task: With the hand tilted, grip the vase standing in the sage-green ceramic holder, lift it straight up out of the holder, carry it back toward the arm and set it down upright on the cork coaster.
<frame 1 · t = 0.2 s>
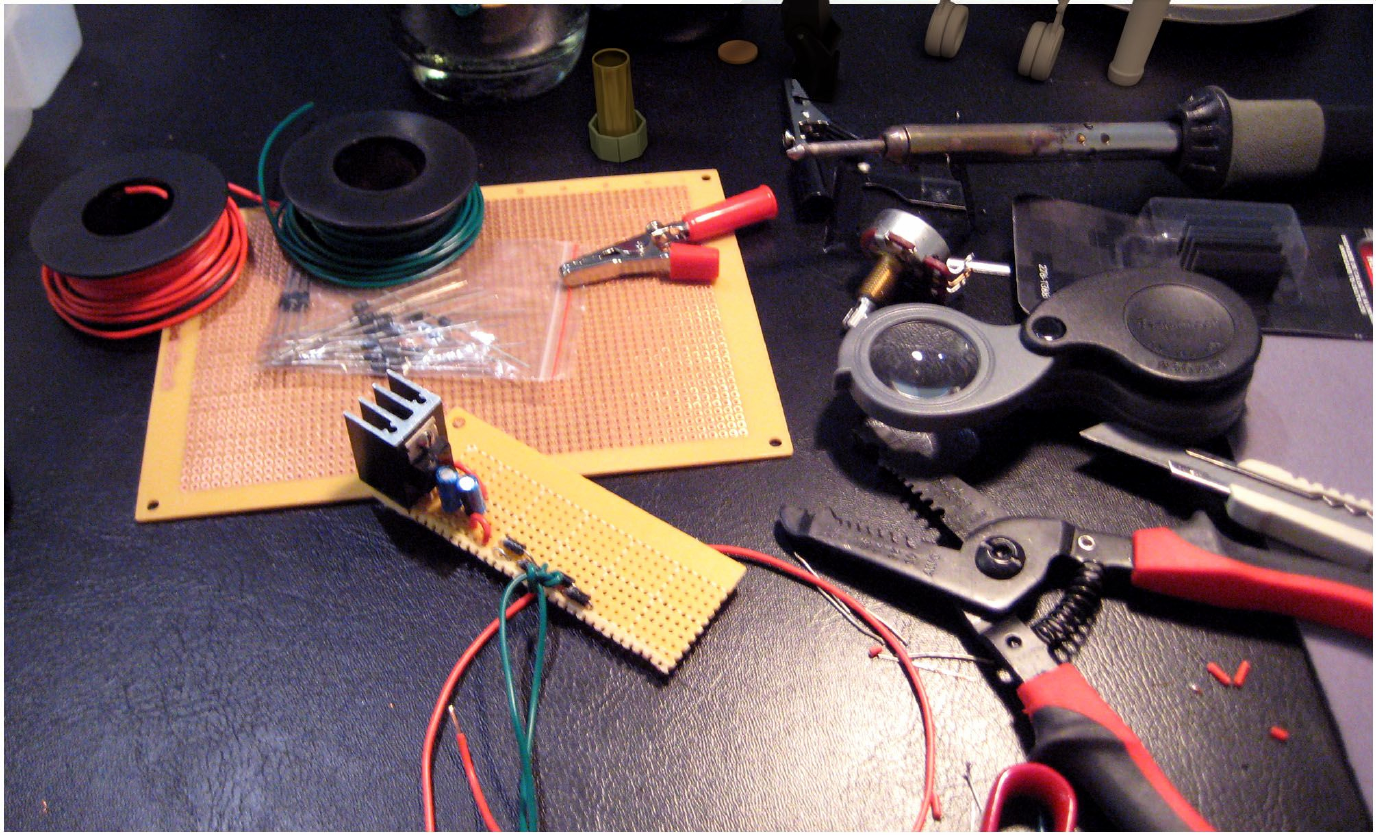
holder: (619, 145, 139), on the table
vase: (619, 147, 139), resting in holder
headphones: (986, 65, 151), on the table
coaster: (737, 53, 155), on the table
bottle: (1122, 79, 147), on the table
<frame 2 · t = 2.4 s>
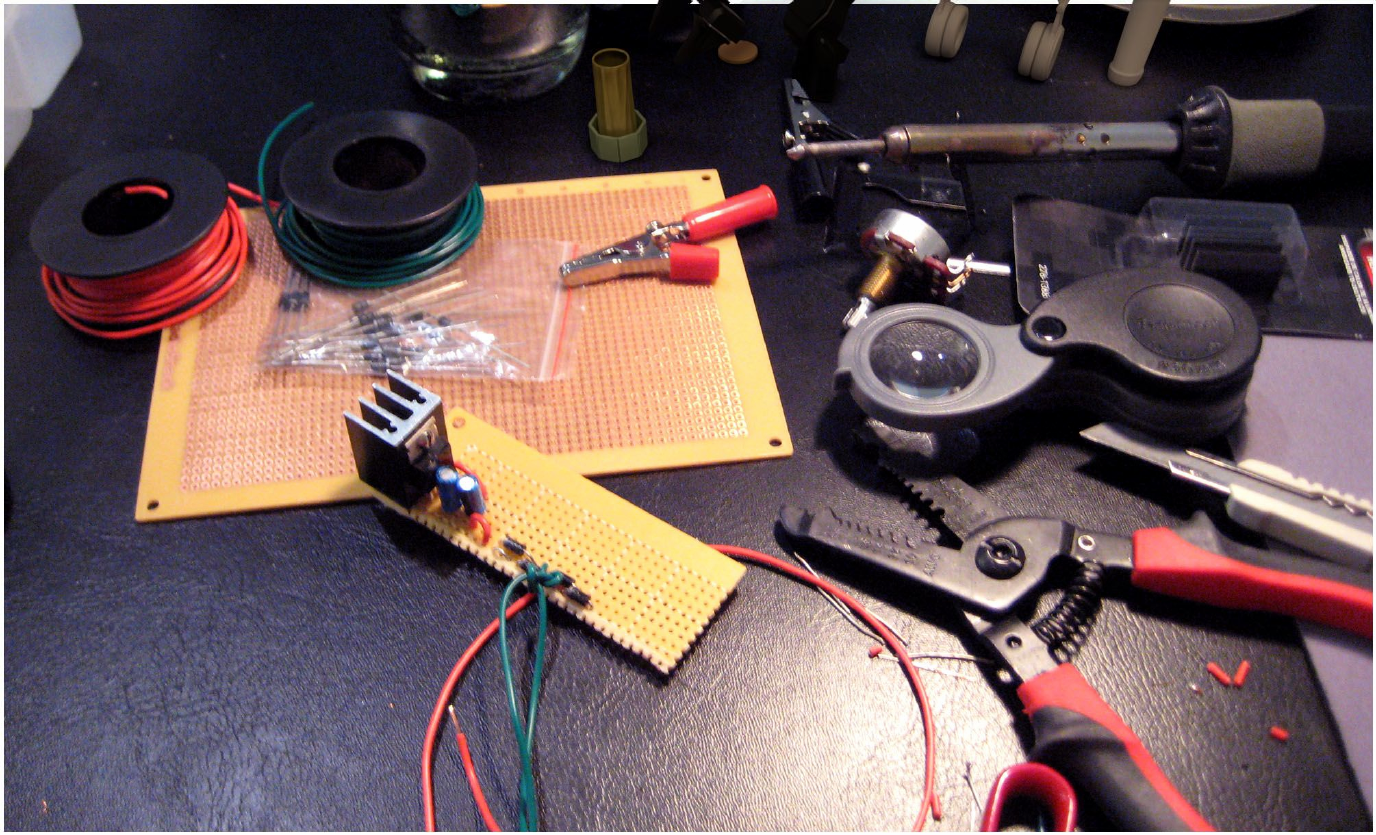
hand: (663, 48, 131), 13 cm above the table, tool tilted 45°, fingers open, 9 cm apart
nothing on the table moved.
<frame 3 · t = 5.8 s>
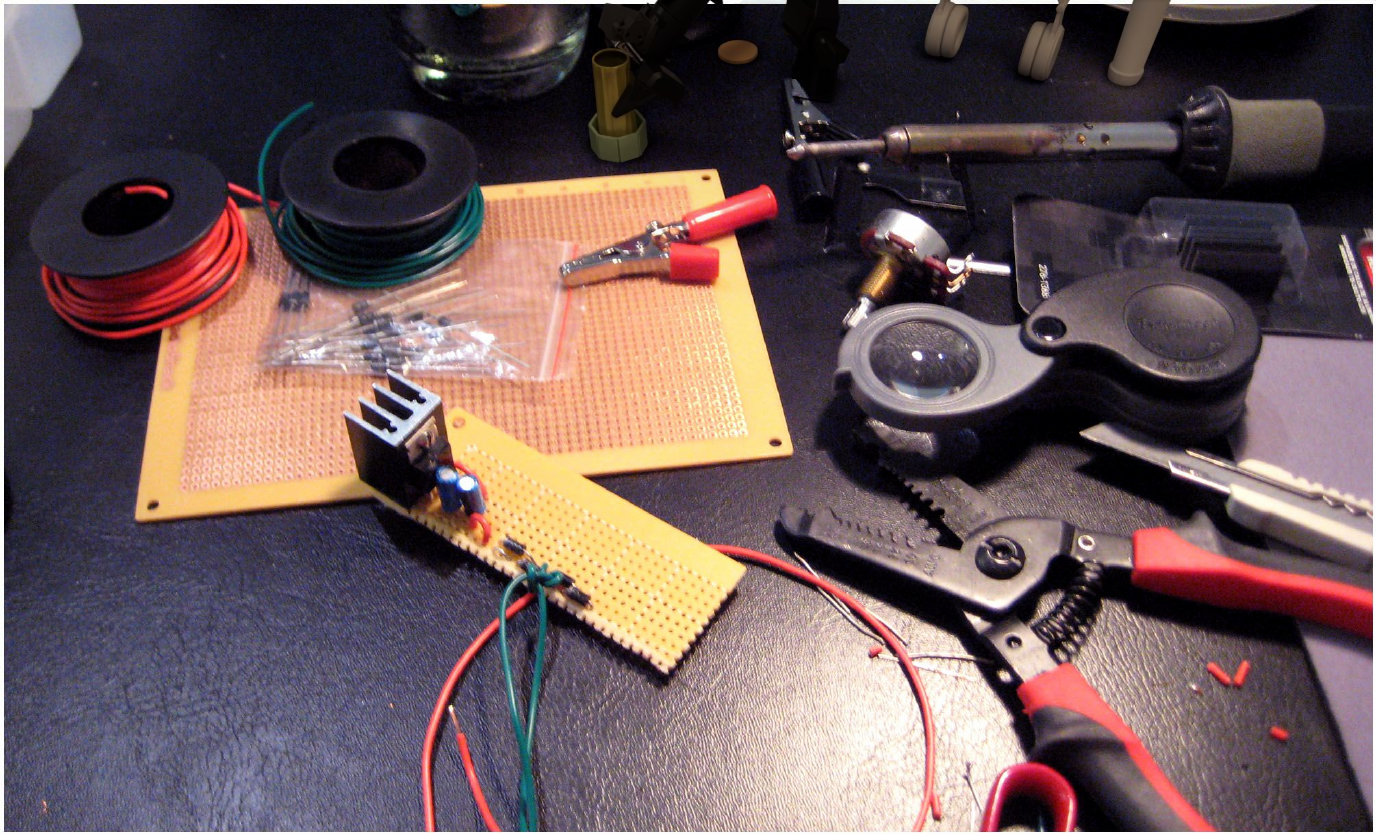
hand: (606, 106, 133), 7 cm above the table, tool tilted 45°, fingers closed on vase, 5 cm apart
vase: (619, 147, 139), resting in holder, touching gripper
everything else where it was.
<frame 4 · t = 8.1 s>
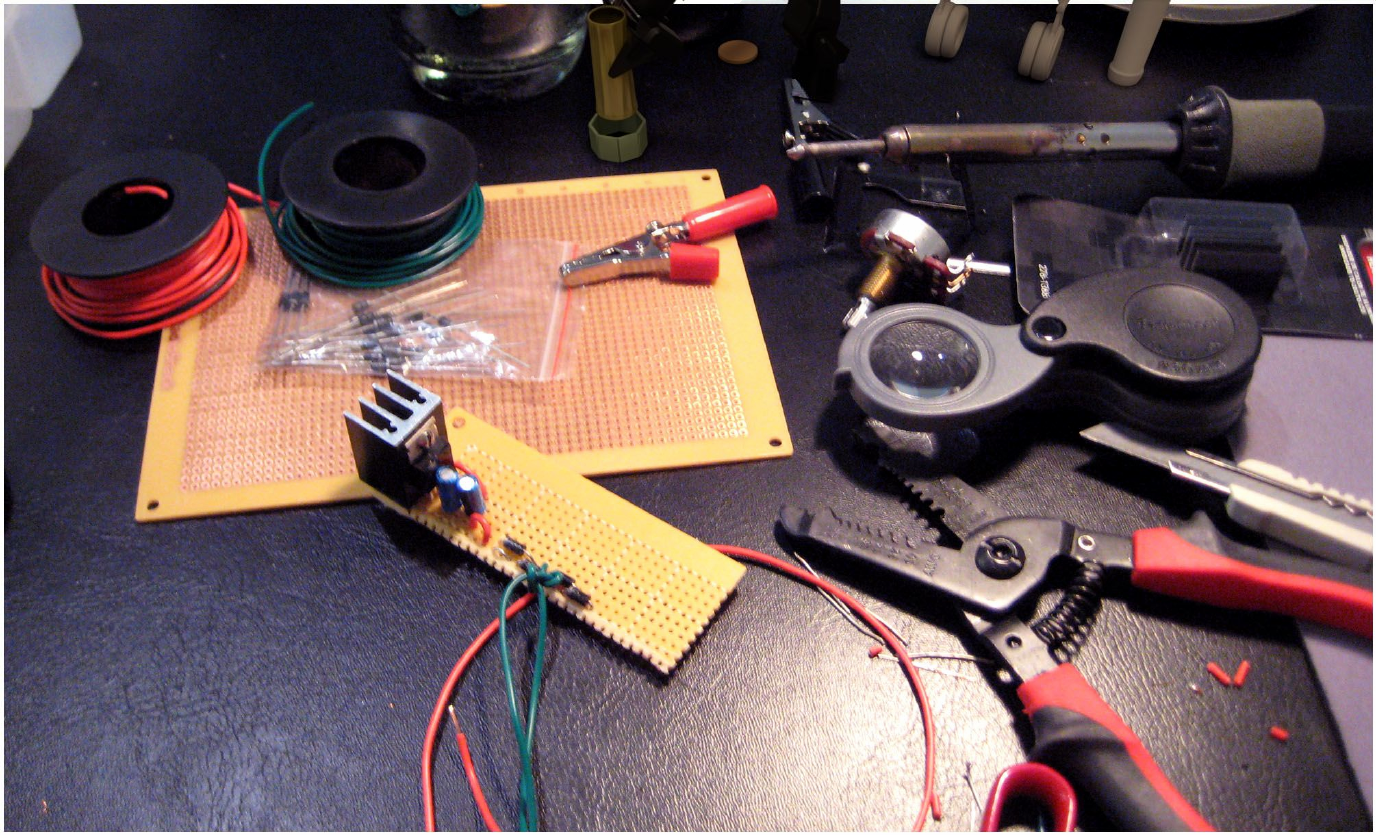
hand: (602, 67, 129), 13 cm above the table, tool tilted 45°, fingers closed on vase, 5 cm apart
vase: (617, 110, 135), point 6 cm above the table, touching gripper
everything else where it was.
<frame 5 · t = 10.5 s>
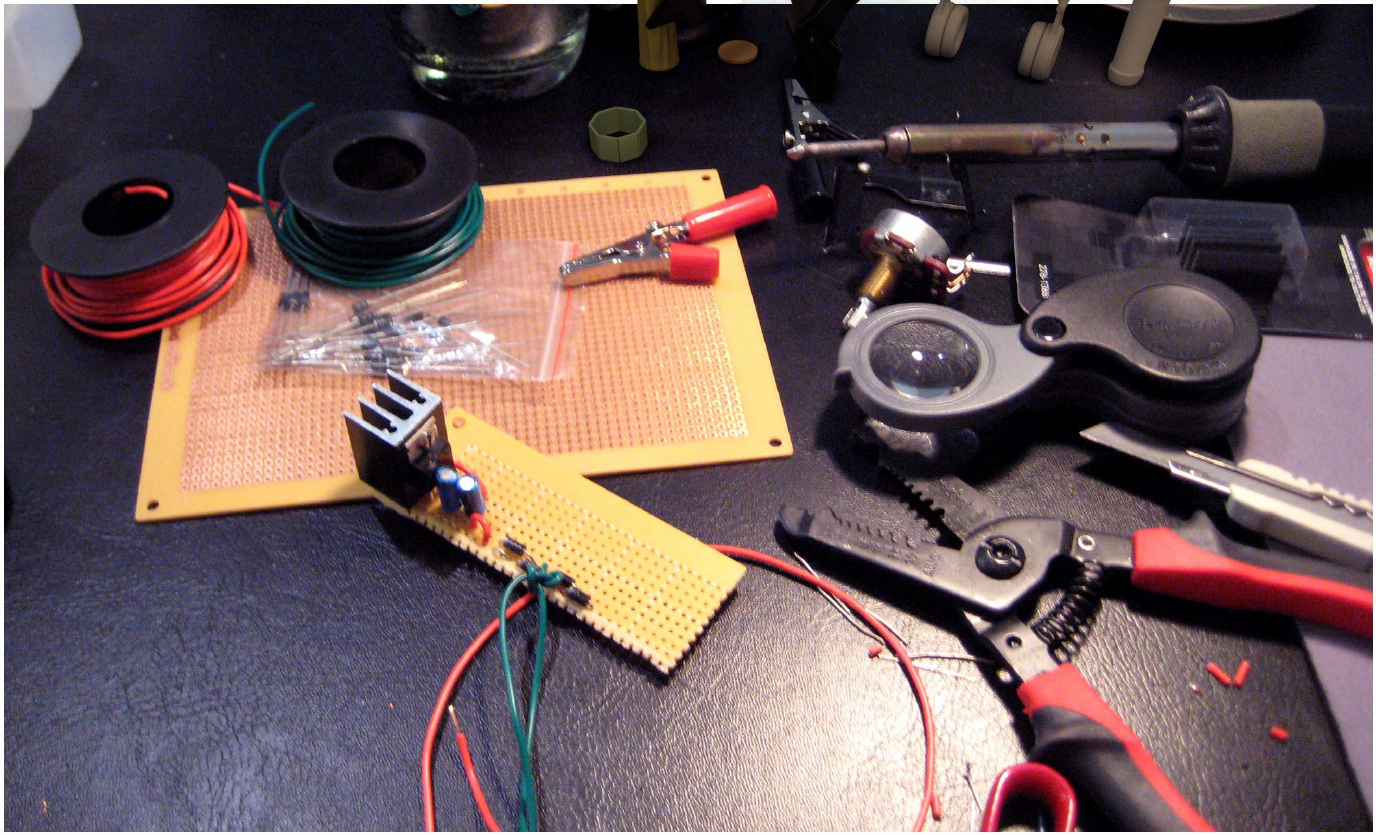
hand: (647, 17, 137), 13 cm above the table, tool tilted 45°, fingers closed on vase, 5 cm apart
vase: (659, 62, 142), point 6 cm above the table, touching gripper
everything else where it was.
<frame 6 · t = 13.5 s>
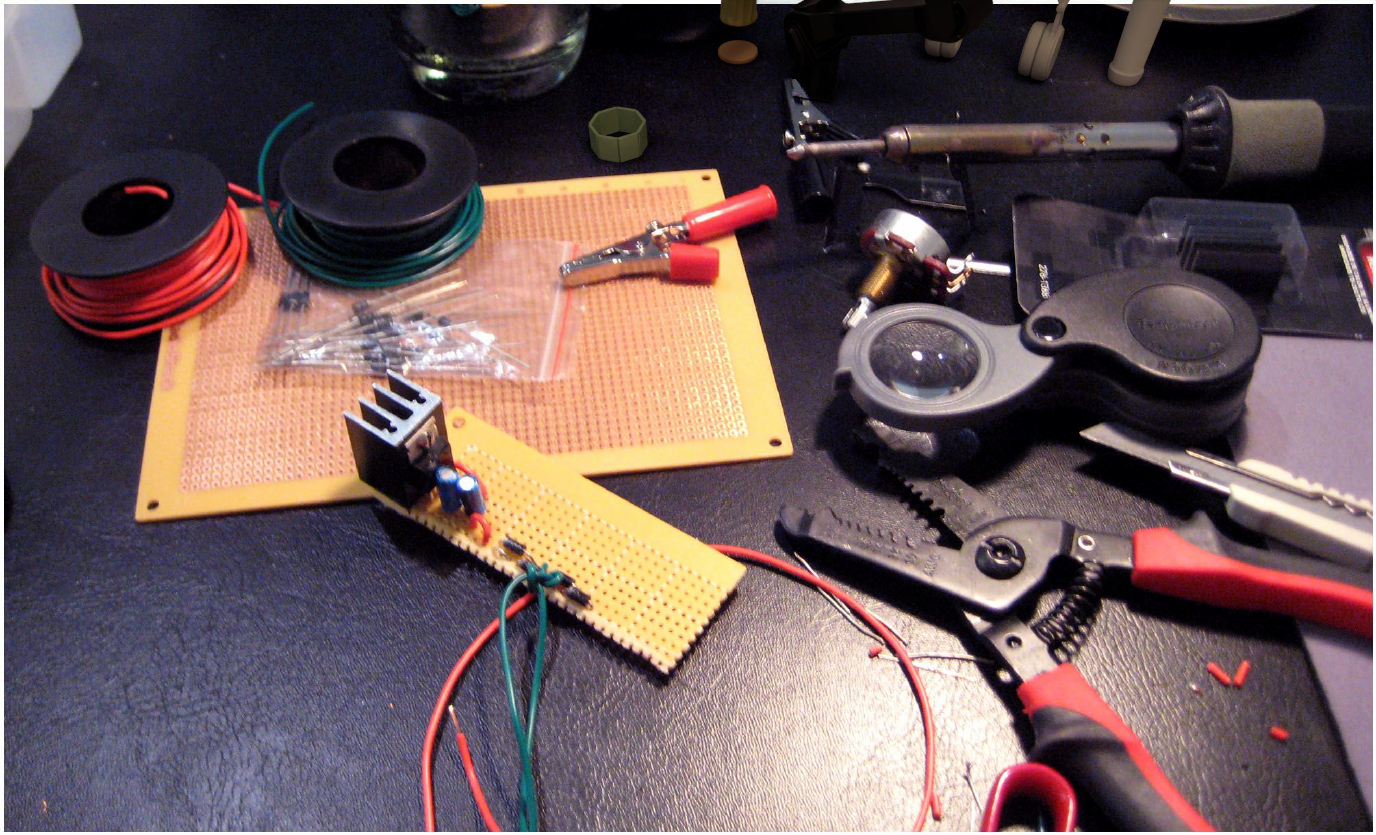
vase: (738, 19, 150), point 6 cm above the table, touching gripper
everything else where it was.
when the fingers open (8 cm above the table, at t = 15.7 s): vase stays where it is, resting on coaster.
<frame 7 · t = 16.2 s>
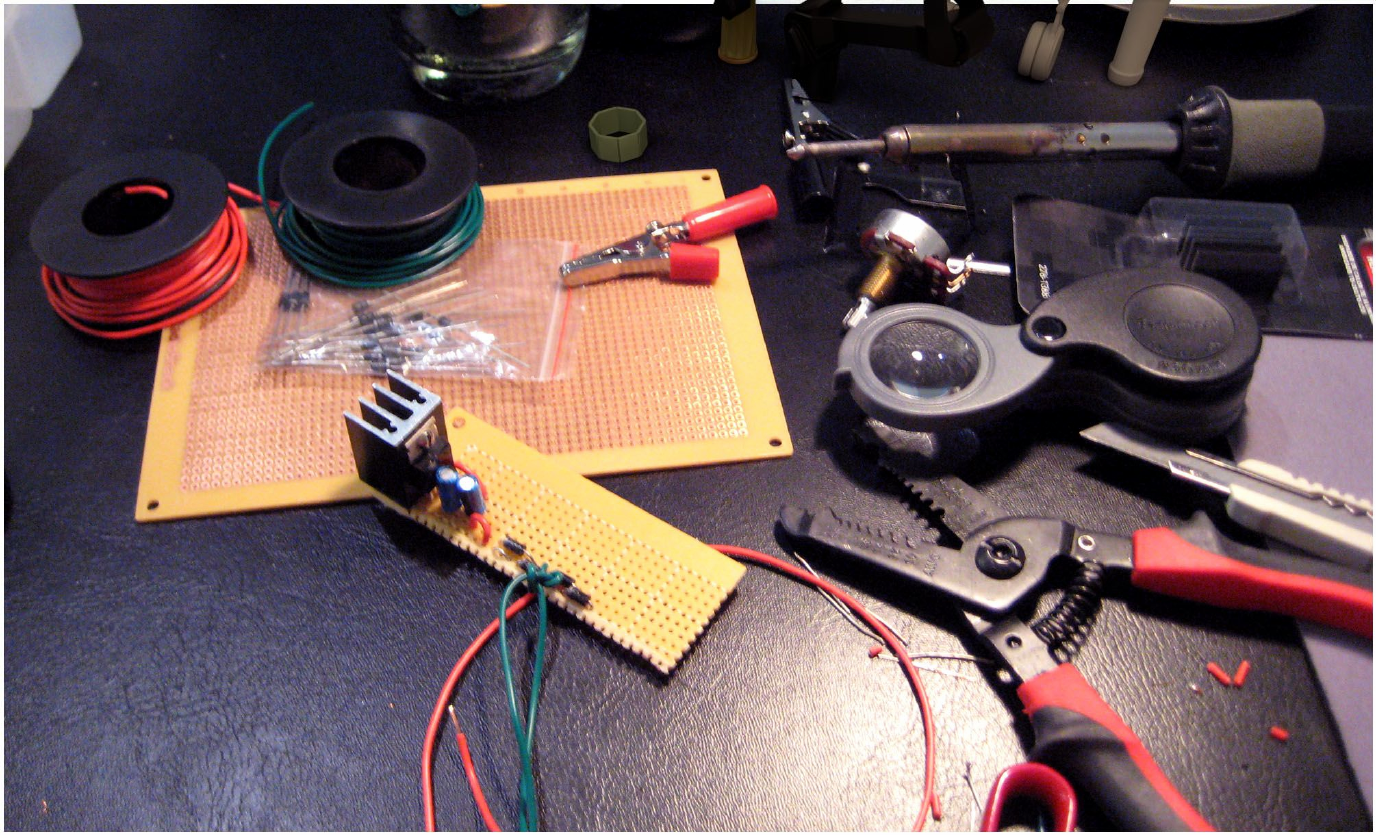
hand: (731, 2, 149), 8 cm above the table, tool tilted 45°, fingers open, 9 cm apart
vase: (738, 51, 154), resting on coaster
everything else where it was.
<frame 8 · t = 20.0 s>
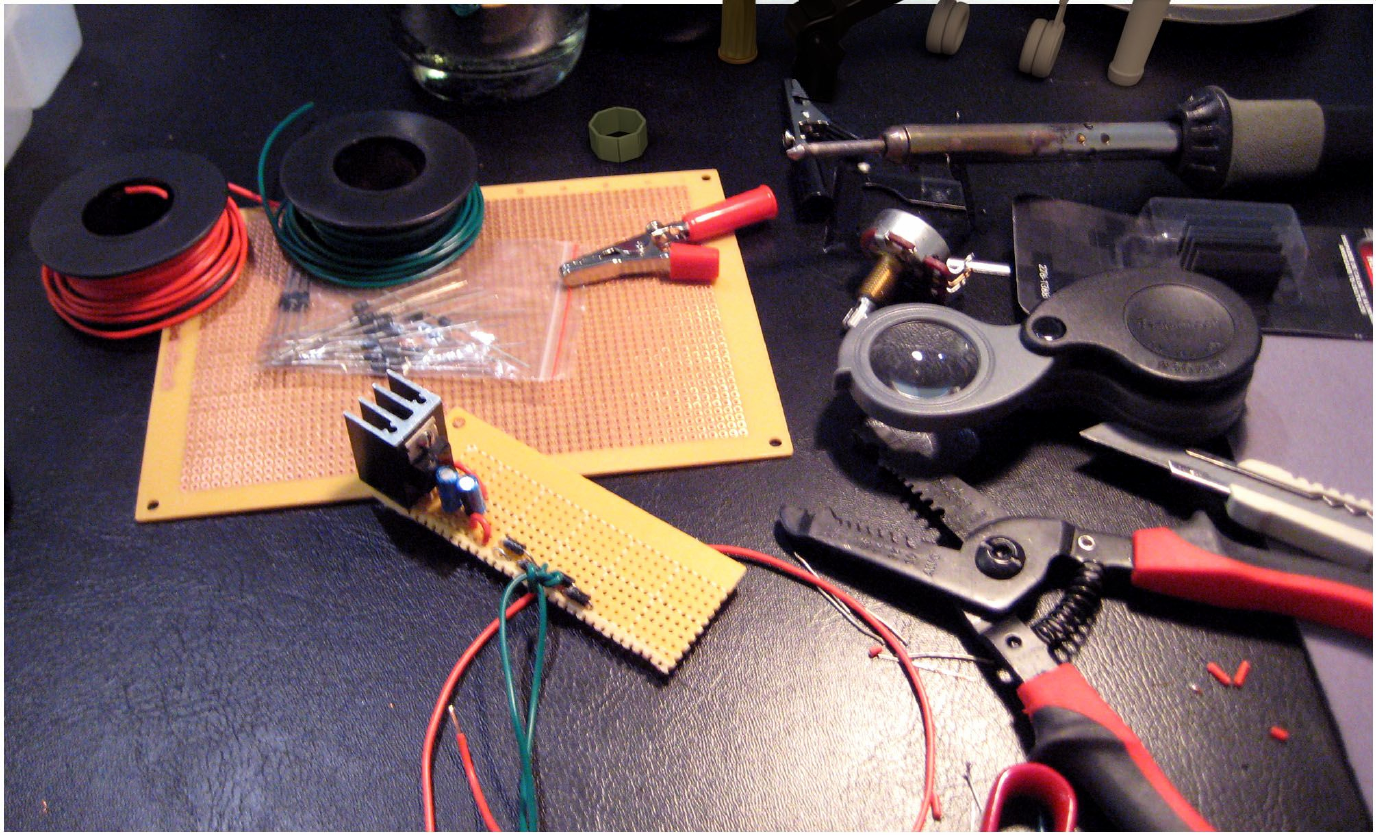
headphones: (986, 64, 150), on the table, touching arm
everything else where it was.
at the end: vase 0.1 cm off-centre on the coaster, point 0.4 cm above the coaster's base; vase tilted 0°; vase touching coaster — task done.
